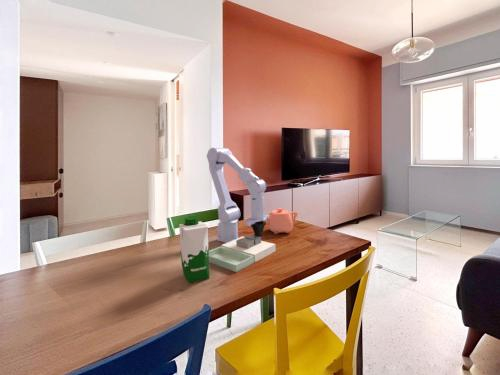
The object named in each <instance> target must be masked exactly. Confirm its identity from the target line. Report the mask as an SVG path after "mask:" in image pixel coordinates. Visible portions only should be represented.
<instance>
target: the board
mask: <svg viewBox="0 0 500 375" xmlns="http://www.w3.org/2000/svg"><path fill="white" fill-rule="evenodd" d="M244 237H245V236H240V237H238V239H235V240H233V241H230V242H228V243H225V242H224V243H223V244H221V247H224V248H228V249H231V250H235V251H238V252H241V253H245V254H248V255H252V256H254V263H256V262H258V261H260V260H262V259H264V258H266V257H268V256H269V255H271V254H273V253H275V252H276V250H277V249H276V243H272V242H268V241H263V240H261V243H260V244H257V245H254V246H253V247H251V248H249V249H246V248H242V247H238V246H237V244H236V240H239V239H241V238H244Z"/></svg>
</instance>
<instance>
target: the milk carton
mask: <svg viewBox="0 0 500 375" xmlns="http://www.w3.org/2000/svg"><path fill="white" fill-rule="evenodd" d="M184 219H185V220H184V221H185V222H184V223H181V224H178V226H179V243H180V256H181V257H180V258H181V259H180V260H181V267H182V273H183V276H184V277H185V279H186V281H187V282H188V284H191V283H195V282H200V281H202V280H203V281H204V280H207V279H208V280H209V279H210V263H209V251H210V250H209V237H208V236H209V231H208V230H209V226H207V225H206V224H205V223H204V222H203V221H198V217H197V216H188V217H185V218H184Z"/></svg>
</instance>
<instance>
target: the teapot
mask: <svg viewBox="0 0 500 375" xmlns="http://www.w3.org/2000/svg"><path fill="white" fill-rule="evenodd" d="M264 214H267V213H266V211H264ZM298 214H299V213H298V212H297V211H289V210H287V209H284V208H282V207H278V208H277V209H273V210H271V211H270V214H269V219H266V220H265V221H264V222H266V225H267V227H268V229H269V231H271V232H273V235H278V234H279V233H285V234H290V232H292V230H293V228H294V222H295V220H296V219H297V217H298ZM291 215H293V217H292V216H291Z"/></svg>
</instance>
